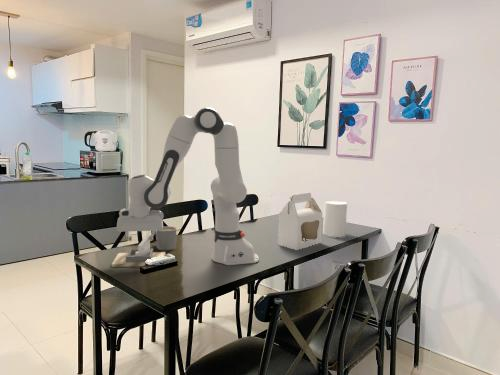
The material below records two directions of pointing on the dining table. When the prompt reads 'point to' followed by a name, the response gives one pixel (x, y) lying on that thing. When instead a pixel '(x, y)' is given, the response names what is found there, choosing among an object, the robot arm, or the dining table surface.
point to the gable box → (300, 223)
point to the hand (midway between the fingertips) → (140, 240)
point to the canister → (334, 218)
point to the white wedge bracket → (144, 247)
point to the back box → (137, 258)
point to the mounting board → (121, 262)
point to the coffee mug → (166, 238)
